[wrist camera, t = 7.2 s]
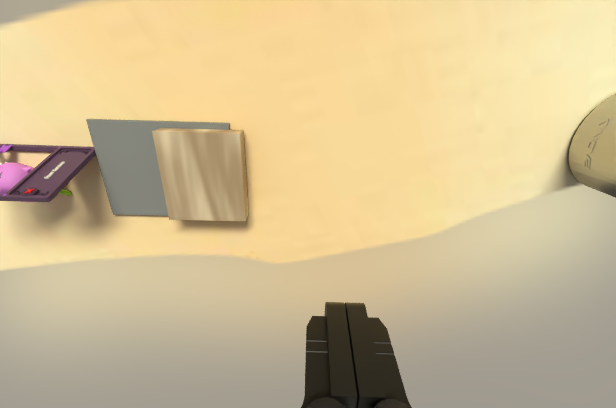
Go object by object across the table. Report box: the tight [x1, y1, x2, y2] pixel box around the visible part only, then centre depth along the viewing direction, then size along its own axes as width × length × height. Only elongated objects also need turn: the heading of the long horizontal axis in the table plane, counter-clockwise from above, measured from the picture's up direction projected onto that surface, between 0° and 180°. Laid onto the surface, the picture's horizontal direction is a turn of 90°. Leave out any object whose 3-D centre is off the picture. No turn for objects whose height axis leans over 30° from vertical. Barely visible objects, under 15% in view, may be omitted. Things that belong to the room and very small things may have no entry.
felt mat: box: [86, 119, 230, 216], centre depth 26 cm, size 12×9×1 cm
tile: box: [152, 128, 249, 221], centre depth 25 cm, size 2×8×7 cm
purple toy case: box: [0, 144, 96, 202], centre depth 24 cm, size 7×5×9 cm
